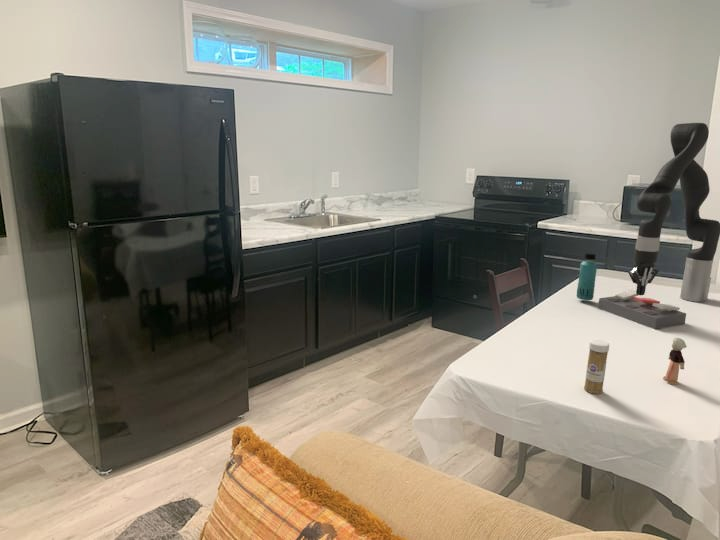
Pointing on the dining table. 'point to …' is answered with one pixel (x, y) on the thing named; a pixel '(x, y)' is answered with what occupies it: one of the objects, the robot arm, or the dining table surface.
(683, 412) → the dining table surface
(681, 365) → the grandmother figurine
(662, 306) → the grey rocker far end
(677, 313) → the power strip
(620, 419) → the dining table surface
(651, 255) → the robot arm
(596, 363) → the sprinkles bottle
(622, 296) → the grey rocker near bottle
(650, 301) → the block
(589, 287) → the beverage bottle
